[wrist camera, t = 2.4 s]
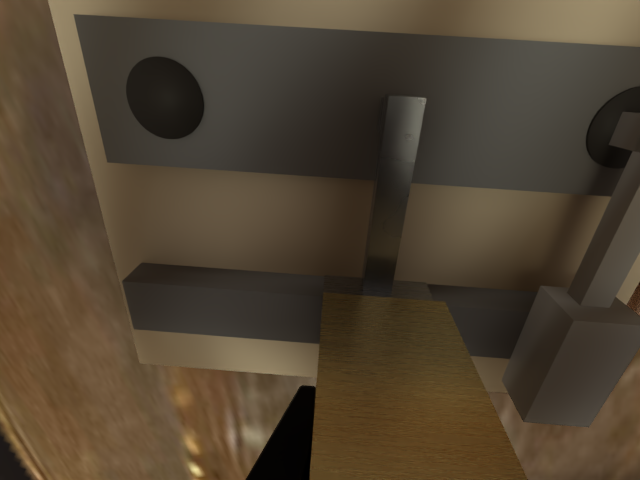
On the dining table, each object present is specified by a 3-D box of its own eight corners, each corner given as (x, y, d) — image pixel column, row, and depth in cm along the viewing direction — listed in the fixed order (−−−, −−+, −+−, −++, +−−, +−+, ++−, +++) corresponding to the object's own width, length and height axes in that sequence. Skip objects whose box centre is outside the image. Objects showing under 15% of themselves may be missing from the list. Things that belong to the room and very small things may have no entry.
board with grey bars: (757, -17, 9) (1056, -81, 5) (556, 374, 15) (625, 470, 11) (67, -53, 9) (-113, -137, 5) (153, 342, 15) (96, 425, 12)
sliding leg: (457, 97, 8) (1085, 224, 1) (397, 370, 13) (472, 749, 6) (337, 89, 8) (329, 169, 1) (318, 364, 13) (291, 730, 6)
